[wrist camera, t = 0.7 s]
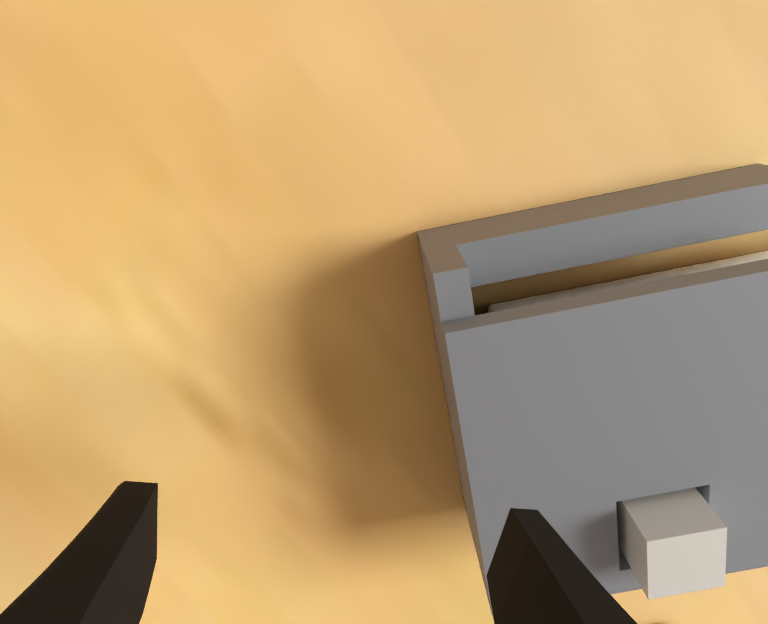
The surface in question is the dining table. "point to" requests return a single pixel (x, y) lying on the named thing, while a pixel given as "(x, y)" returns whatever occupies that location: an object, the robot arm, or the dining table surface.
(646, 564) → the button
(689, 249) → the dining table surface
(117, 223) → the dining table surface
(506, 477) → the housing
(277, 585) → the dining table surface
